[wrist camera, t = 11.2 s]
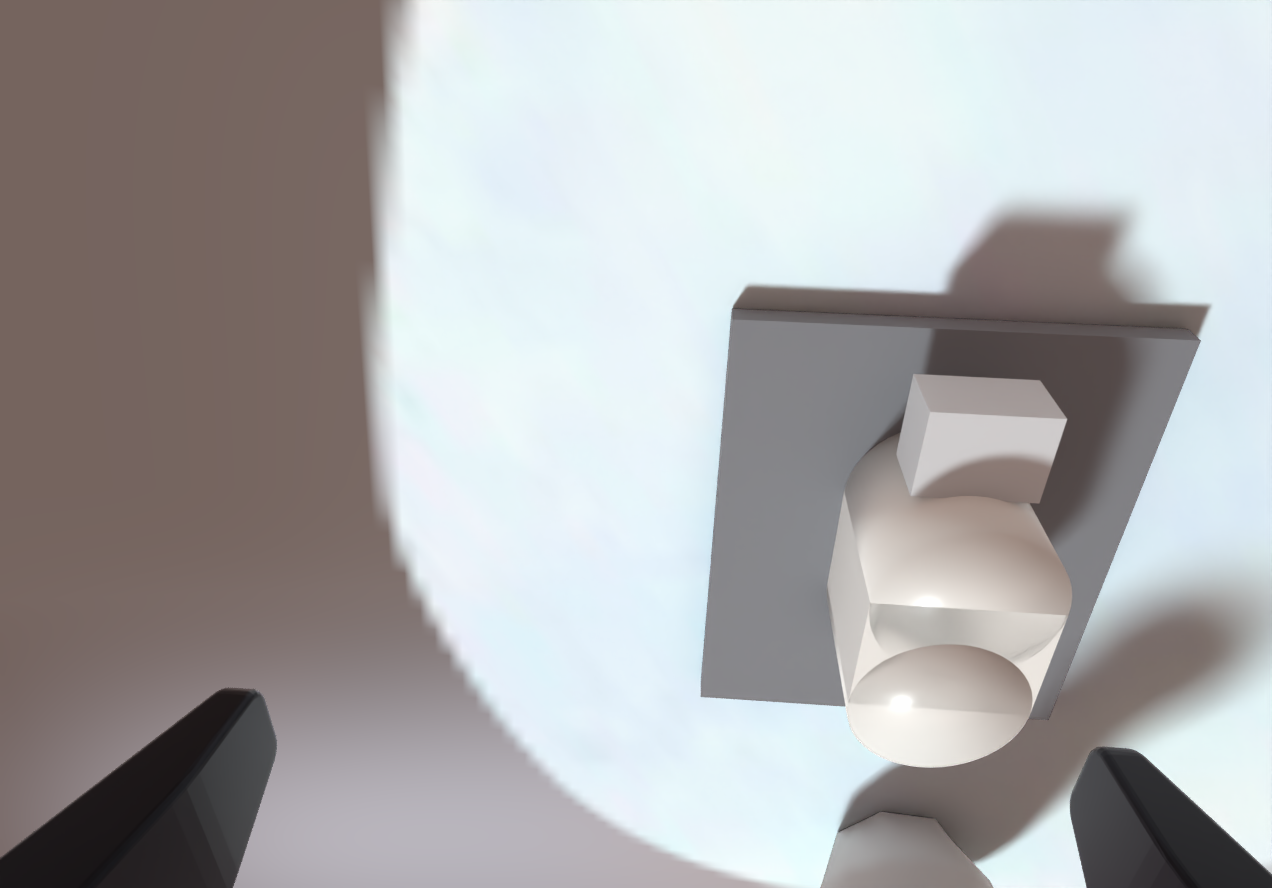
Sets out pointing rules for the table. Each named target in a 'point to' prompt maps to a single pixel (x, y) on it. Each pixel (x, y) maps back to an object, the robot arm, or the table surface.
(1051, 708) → the coaster
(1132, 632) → the table surface
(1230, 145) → the table surface
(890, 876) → the salt shaker
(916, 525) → the plug
